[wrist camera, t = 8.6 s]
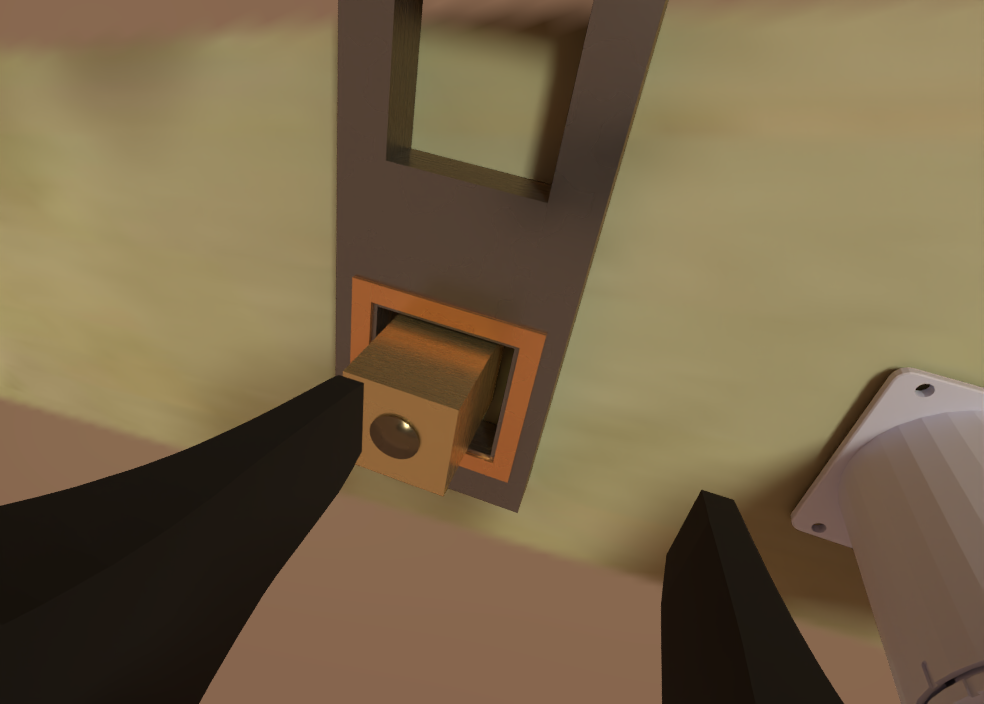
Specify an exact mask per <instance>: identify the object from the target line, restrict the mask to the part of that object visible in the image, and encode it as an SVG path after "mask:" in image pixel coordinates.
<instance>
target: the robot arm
mask: <svg viewBox="0 0 984 704" xmlns="http://www.w3.org/2000/svg"><path fill="white" fill-rule="evenodd" d="M922 384H930V386H929V387H928V388H927V389H925V390H921V391H919V390H916V388H917V387H918V386H919V385H922ZM363 400H364V383H363V382H360V381H356V380H353V379H350V378H347V377H344V376H341V375H337V376H335V377H333V378H331V379H329V380H327V381H325V382H323V383H321V384H320V385H318V386H316V387H314V388H312V389H310V390H308V391H306V392H304V393H303V394H301V395H299V396H297V397H295V398H293V399H291V400H289V401H287V402H286V403H284V404H282V405H280V406H278V407H276V408H274V409H272V410H270V411H268V412H266V413H264V414H262V415H260V416H258V417H256V418H254V419H252V420H250V421H248V422H246V423H244V424H242V425H240V426H237V427H235V428H233V429H231V430H229V431H226V432H224V433H222V434H220V435H218V436H216V437H213V438H211V439H209V440H207V441H205V442H202V443H200V444H198V445H195V446H193V447H191V448H188V449H186V450H183V451H181V452H178V453H176V454H173V455H170V456H168V457H165V458H162V459H160V460H157V461H154V462H151V463H149V464H146V465H144V466H140V467H137V468H135V469H132V470H128V471H125V472H122V473H119V474H116V475H113V476H109V477H106V478H103V479H99V480H96V481H93V482H90V483H86V484H83V485H80V486H77V487H73V488H70V489H66V490H62V491H58V492H55V493H51V494H47V495H43V496H39V497H35V498H32V499H27V500H23V501H19V502H15V503H10V504H6V505H2V506H0V704H199V703H200V701H201V699H202V697H203V695H204V694H205V692H206V690H207V688H208V686H209V684H210V683H211V681H212V679H213V678H214V676H215V674H216V673H217V670H218V669H219V667H220V666H221V664H222V662H223V661H224V659H225V657H226V655H227V654H228V652H229V650H230V648H231V647H232V645H233V643H234V642H235V640H236V638H237V637H238V635H239V633H240V632H241V630H242V628H243V627H244V625H245V624H246V622H247V620H248V619H249V617H250V615H251V614H252V612H253V610H254V609H255V607H256V606H257V604H258V602H259V601H260V599H261V597H262V596H263V594H264V593H265V591H266V590H267V588H268V587H269V586H270V584H271V583H272V581H273V580H274V578H275V577H276V575H277V574H278V573H279V571H280V570H281V569H282V567H283V566H284V565H285V563H286V562H287V561H288V559H289V558H290V557H291V555H292V554H293V553H294V552H295V550H296V549H297V548H298V546H299V545H300V544H301V542H302V541H303V540H304V538H305V537H306V535H307V534H308V533H309V532H310V530H311V529H312V528H313V526H314V525H315V524H316V522H317V521H318V520H319V518H320V517H321V515H322V514H323V513H324V512H325V510H326V509H327V507H328V506H329V505H330V503H331V502H332V501H333V499H334V498H335V497H336V495H337V494H338V493H339V491H340V490H341V488H342V486H343V484H344V483H345V481H346V479H347V478H348V476H349V474H350V472H351V471H352V469H353V467H354V465H355V463H356V462H357V460H358V458H359V456H360V454H361V452H362V433H363ZM790 517H791V522H792V525H793V526H794V528H795V529H797V530H799V531H802V532H805V533H808V534H811V535H814V536H817V537H820V538H823V539H826V540H829V541H832V542H835V543H838V544H841V545H844V546H847V547H850V548H853V551H854V554H855V557H856V560H857V564H858V567H859V570H860V573H861V576H862V580H863V583H864V586H865V589H866V592H867V596H868V599H869V602H870V605H871V608H872V612H873V615H874V618H875V621H876V624H877V628H878V631H879V634H880V637H881V641H882V644H883V647H884V650H885V653H886V657H887V660H888V663H889V666H890V669H891V672H892V676H893V679H894V682H895V685H896V688H897V692H898V695H899V698H900V701H901V704H984V388H983V387H979V386H976V385H972V384H969V383H965V382H962V381H958V380H954V379H951V378H947V377H944V376H940V375H937V374H933V373H930V372H926V371H922V370H919V369H915V368H909V367H906V368H900V369H898V370H896V371H894V372H893V373H892V374H891V375H889V377H888V378H887V380H886V381H885V382H884V384H883V385H882V387H881V388H880V389H879V391H878V392H877V394H876V395H875V396H874V398H873V399H872V401H871V402H870V403H869V405H868V406H867V408H866V409H865V410H864V412H863V413H862V415H861V416H860V418H859V419H858V420H857V422H856V423H855V425H854V426H853V427H852V429H851V430H850V432H849V433H848V434H847V436H846V437H845V439H844V440H843V441H842V443H841V444H840V446H839V447H838V448H837V450H836V451H835V453H834V454H833V455H832V457H831V458H830V460H829V461H828V462H827V464H826V465H825V467H824V468H823V469H822V471H821V472H820V474H819V475H818V477H817V478H816V479H815V481H814V482H813V484H812V485H811V486H810V488H809V489H808V491H807V492H806V493H805V495H804V496H803V498H802V499H801V500H800V502H799V503H798V505H797V506H796V507H795V509H794V510H793V512H792V513H791V516H790ZM816 523H822V524H821V525H813V524H816ZM661 651H662V652H661V653H662V704H844V703H843V701H842V700H841V699H840V697H839V696H838V694H837V693H836V691H835V689H834V688H833V687H832V685H831V683H830V682H829V680H828V678H827V677H826V676H825V674H824V672H823V670H822V669H821V667H820V665H819V664H818V662H817V661H816V659H815V657H814V655H813V654H812V652H811V650H810V648H809V647H808V645H807V643H806V642H805V640H804V638H803V636H802V635H801V633H800V631H799V629H798V627H797V626H796V624H795V622H794V620H793V618H792V617H791V615H790V613H789V611H788V609H787V607H786V605H785V603H784V601H783V600H782V598H781V596H780V594H779V592H778V590H777V588H776V586H775V584H774V582H773V580H772V578H771V576H770V574H769V572H768V570H767V568H766V566H765V564H764V562H763V560H762V558H761V556H760V554H759V552H758V550H757V548H756V546H755V544H754V542H753V540H752V537H751V535H750V533H749V531H748V529H747V527H746V525H745V523H744V520H743V518H742V516H741V514H740V512H739V510H738V508H737V506H736V504H735V502H734V500H732V499H729V498H726V497H723V496H719V495H716V494H713V493H710V492H707V491H704V490H701V492H700V494H699V496H698V497H697V499H696V501H695V503H694V505H693V507H692V509H691V510H690V512H689V514H688V516H687V518H686V520H685V522H684V523H683V525H682V527H681V529H680V531H679V533H678V535H677V536H676V538H675V540H674V542H673V544H672V546H671V548H670V549H669V551H668V553H667V556H666V565H665V573H664V581H663V591H662V601H661Z"/></svg>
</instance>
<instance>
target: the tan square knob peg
mask: <svg viewBox="0 0 984 704" xmlns="http://www.w3.org/2000/svg"><path fill="white" fill-rule="evenodd" d="M503 350H504V345H501V344H498V343H494V342H491V341H488V340H485V339H481V338H478V337H475V336H472V335H468V334H465V333H462V332H459V331H456V330H452V329H449V328H446V327H443V326H439V325H436V324H433V323H430V322H426V321H423V320H420V319H417V318H414V317H410V316H407V315H404V314H401V313H399V314H398V315H397V316H396V317H395V318H394V319H393V320H392V321H391V322H390V323H389V324H388V325H387V326H386V327H385V329H384V330H383V331H382V332H381V333H380V334H379V335H378V336H377V337H376V338H375V339H374V340H373V341H372V342H371V343H370V344H369V345H368V346H367V347H366V348H365V349H364V350H363V351H362V352H361V353H360V354H359V355H358V356H357V357H356V358H355V359H354V360H353V361H352V362H351V363H350V364H349V365H348V366H347V367H346V369H345V370H344V371H343V376H344V377H347V378H350V379H353V380H356V381H360V382H363V383H364V400H363V433H362V452H361V454H360V456H359V458H358V460H357V462H356V463H355V464H356V465H359V466H361V467H364V468H367V469H370V470H372V471H375V472H378V473H381V474H383V475H386V476H389V477H391V478H394V479H397V480H400V481H402V482H405V483H408V484H411V485H413V486H416V487H419V488H422V489H424V490H427V491H430V492H432V493H435V494H438V495H441V496H444V494H445V492H446V490H447V488H448V486H449V484H450V482H451V480H452V478H453V476H454V474H455V472H456V470H457V468H458V466H459V465H460V463H461V461H462V459H463V457H464V455H465V453H466V451H467V449H468V447H469V445H470V443H471V441H472V439H473V437H474V435H475V433H476V431H477V429H478V427H479V425H480V423H481V421H482V419H483V417H484V415H485V413H486V412H487V410H488V408H489V406H490V404H491V402H492V400H493V395H494V391H495V386H496V382H497V377H498V373H499V368H500V364H501V359H502V355H503Z"/></svg>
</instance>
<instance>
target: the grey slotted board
mask: <svg viewBox="0 0 984 704" xmlns="http://www.w3.org/2000/svg"><path fill="white" fill-rule="evenodd" d="M668 1H669V0H594V2H593V6H592V11H591V15H590V20H589V24H588V28H587V33H586V37H585V42H584V46H583V50H582V55H581V59H580V64H579V68H578V72H577V77H576V81H575V86H574V90H573V94H572V99H571V103H570V108H569V112H568V116H567V121H566V125H565V130H564V134H563V138H562V143H561V147H560V152H559V156H558V160H557V165H556V169H555V174H554V178H553V182H552V185H550V184H546V183H543V182H539V181H535V180H531V179H527V178H523V177H519V176H515V175H511V174H508V173H504V172H500V171H496V170H492V169H488V168H484V167H480V166H477V165H473V164H469V163H465V162H461V161H457V160H453V159H449V158H445V157H442V156H438V155H434V154H430V153H426V152H422V151H418V150H414V149H411V142H412V130H413V117H414V105H415V92H416V79H417V67H418V54H419V42H420V29H421V17H422V4H423V0H338V123H337V260H336V376H337V375H341V376H343V371H344V370H345V369H346V367H347V366H348V365H349V364H350V363H351V362H352V361H353V360H354V359H355V358H356V357H357V356H358V355H359V354H360V353H361V352H362V351H363V350H364V349H365V348H366V347H367V346H368V345H369V344H370V343H371V342H372V341H373V340H374V339H375V338H376V337H377V336H378V335H379V334H380V333H381V332H382V331H383V330H384V329H385V327H386V326H387V325H388V324H389V323H390V322H391V321H392V320H393V319H394V318H395V317H396V316H397V315H398V313H401V314H404V315H407V316H410V317H414V318H417V319H420V320H423V321H426V322H430V323H433V324H436V325H439V326H443V327H446V328H449V329H452V330H456V331H459V332H462V333H465V334H468V335H472V336H475V337H478V338H481V339H485V340H488V341H491V342H494V343H498V344H501V345H504V346H507V347H510V348H514V349H515V350H514V354H513V358H512V363H511V367H510V372H509V376H508V380H507V385H506V389H505V394H504V398H503V402H502V407H501V411H500V416H499V420H498V424H497V425H496V424H493V423H490V422H487V421H484V420H482V421H481V423H480V425H479V427H478V429H477V431H476V433H475V435H474V437H473V439H472V441H471V443H470V445H469V447H468V449H467V451H466V453H465V455H464V457H463V459H462V461H461V463H460V465H459V466H458V468H457V470H456V472H455V474H454V476H453V478H452V480H451V482H450V484H449V486H448V488H449V489H452V490H455V491H458V492H460V493H463V494H466V495H469V496H472V497H474V498H477V499H480V500H483V501H486V502H488V503H491V504H494V505H497V506H500V507H502V508H505V509H508V510H511V511H513V512H516V513H518V510H519V507H520V504H521V501H522V498H523V495H524V493H525V490H526V487H527V484H528V481H529V477H530V474H531V470H532V467H533V464H534V460H535V457H536V453H537V450H538V446H539V443H540V440H541V436H542V433H543V429H544V426H545V422H546V419H547V416H548V412H549V409H550V405H551V402H552V398H553V395H554V392H555V388H556V385H557V381H558V378H559V374H560V371H561V368H562V364H563V361H564V357H565V354H566V350H567V347H568V344H569V340H570V337H571V333H572V330H573V326H574V323H575V320H576V316H577V313H578V309H579V306H580V302H581V299H582V296H583V292H584V289H585V285H586V282H587V278H588V275H589V272H590V268H591V265H592V261H593V258H594V254H595V251H596V248H597V244H598V241H599V237H600V234H601V230H602V227H603V224H604V220H605V217H606V213H607V210H608V206H609V203H610V200H611V196H612V193H613V189H614V186H615V182H616V179H617V176H618V172H619V169H620V165H621V162H622V158H623V155H624V152H625V148H626V145H627V141H628V138H629V134H630V131H631V128H632V124H633V121H634V117H635V114H636V110H637V107H638V104H639V100H640V97H641V93H642V90H643V86H644V83H645V80H646V76H647V73H648V69H649V66H650V62H651V59H652V56H653V52H654V49H655V45H656V42H657V38H658V35H659V32H660V28H661V25H662V21H663V18H664V14H665V11H666V8H667V4H668Z"/></svg>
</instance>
